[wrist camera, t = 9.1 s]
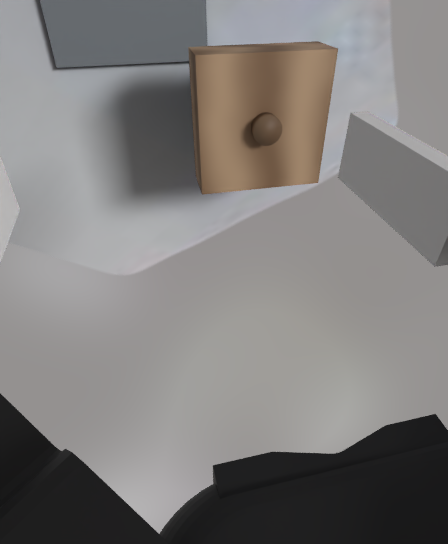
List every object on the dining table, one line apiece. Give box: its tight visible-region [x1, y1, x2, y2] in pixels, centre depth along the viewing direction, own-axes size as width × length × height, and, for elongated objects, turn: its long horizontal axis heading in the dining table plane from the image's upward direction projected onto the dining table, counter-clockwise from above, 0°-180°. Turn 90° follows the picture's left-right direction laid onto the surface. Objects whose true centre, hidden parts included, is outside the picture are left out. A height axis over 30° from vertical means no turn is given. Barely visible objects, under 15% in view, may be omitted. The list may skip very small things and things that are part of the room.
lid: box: [188, 42, 338, 194], centre depth 33 cm, size 11×11×5 cm
